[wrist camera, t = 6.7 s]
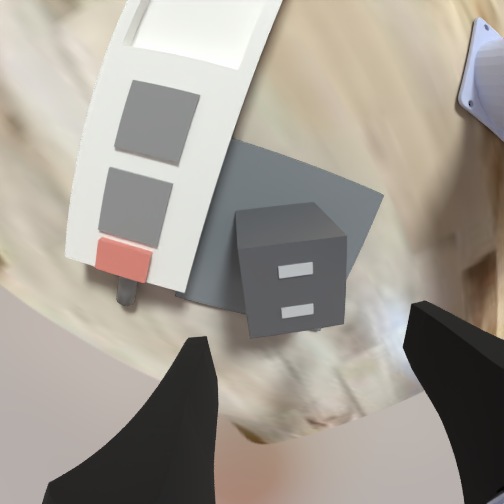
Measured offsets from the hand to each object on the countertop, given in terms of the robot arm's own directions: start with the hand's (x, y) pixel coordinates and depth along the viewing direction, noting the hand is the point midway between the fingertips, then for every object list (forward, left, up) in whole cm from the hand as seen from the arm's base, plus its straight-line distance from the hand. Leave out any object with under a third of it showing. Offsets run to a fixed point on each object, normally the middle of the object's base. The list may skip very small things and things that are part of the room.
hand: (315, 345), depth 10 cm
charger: (0, 0, -9) cm, 9 cm away
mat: (0, 0, -9) cm, 9 cm away
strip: (+8, -7, -9) cm, 14 cm away
